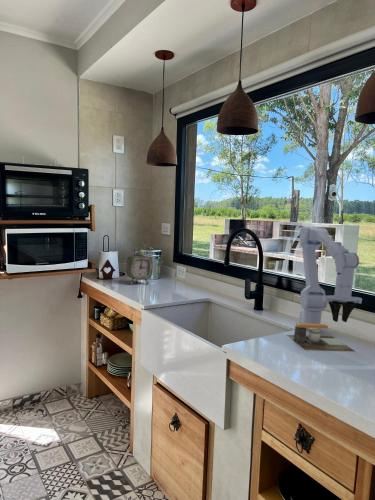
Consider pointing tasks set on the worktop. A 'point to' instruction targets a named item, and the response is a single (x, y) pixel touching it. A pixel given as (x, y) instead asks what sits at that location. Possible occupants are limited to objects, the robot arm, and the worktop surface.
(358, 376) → the worktop surface
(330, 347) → the board
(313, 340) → the plug
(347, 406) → the worktop surface
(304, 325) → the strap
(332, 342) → the sage mat
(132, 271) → the tabletop clock
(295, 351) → the worktop surface
